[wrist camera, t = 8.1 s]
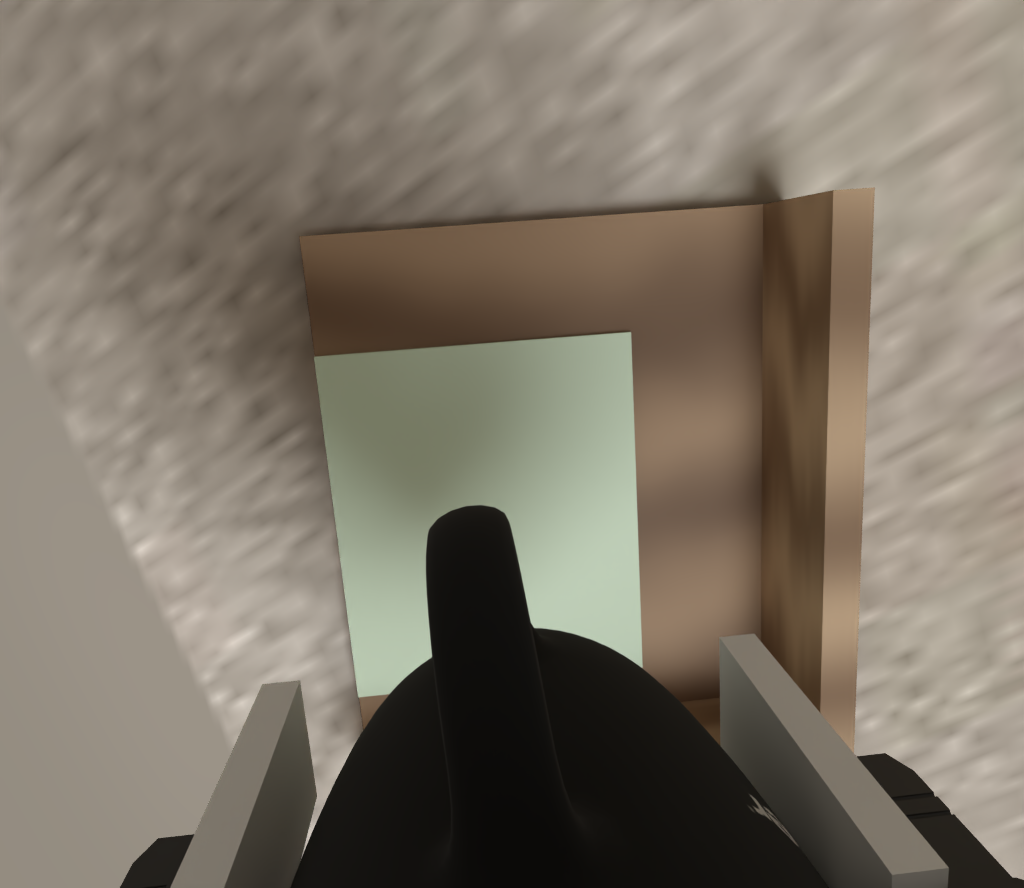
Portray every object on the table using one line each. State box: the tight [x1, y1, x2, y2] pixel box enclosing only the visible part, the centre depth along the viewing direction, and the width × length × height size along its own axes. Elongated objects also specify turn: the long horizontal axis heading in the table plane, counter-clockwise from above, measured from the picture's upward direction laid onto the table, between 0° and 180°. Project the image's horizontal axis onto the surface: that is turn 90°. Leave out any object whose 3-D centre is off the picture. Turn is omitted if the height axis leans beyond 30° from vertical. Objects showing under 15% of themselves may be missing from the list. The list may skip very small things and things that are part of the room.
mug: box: [290, 505, 829, 888], centre depth 12 cm, size 12×9×10 cm
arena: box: [299, 188, 875, 753], centre depth 26 cm, size 20×17×6 cm
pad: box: [314, 332, 643, 697], centre depth 28 cm, size 13×11×1 cm
